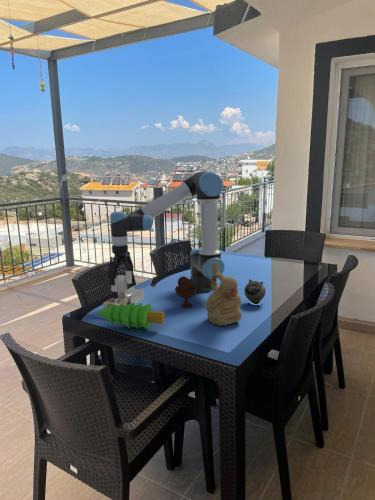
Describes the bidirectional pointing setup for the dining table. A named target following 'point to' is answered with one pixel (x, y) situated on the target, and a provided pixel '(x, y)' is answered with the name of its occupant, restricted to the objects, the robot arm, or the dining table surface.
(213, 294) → the ceramic vessel
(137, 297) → the channel
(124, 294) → the shiny silver metal piece
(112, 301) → the socket
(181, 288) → the ice cream bowl
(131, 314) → the decorative tree
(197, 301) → the dining table surface
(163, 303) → the dining table surface
